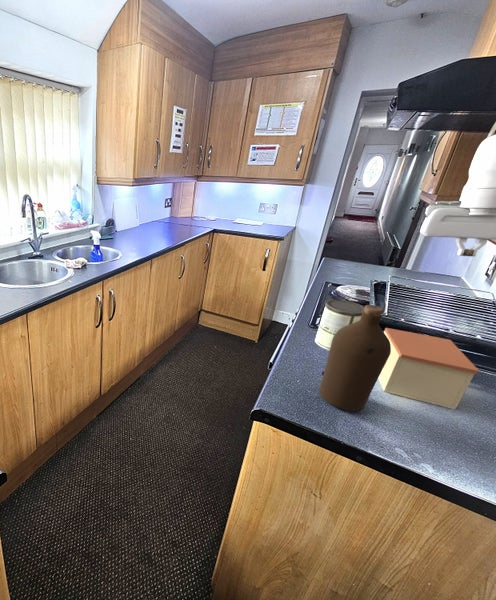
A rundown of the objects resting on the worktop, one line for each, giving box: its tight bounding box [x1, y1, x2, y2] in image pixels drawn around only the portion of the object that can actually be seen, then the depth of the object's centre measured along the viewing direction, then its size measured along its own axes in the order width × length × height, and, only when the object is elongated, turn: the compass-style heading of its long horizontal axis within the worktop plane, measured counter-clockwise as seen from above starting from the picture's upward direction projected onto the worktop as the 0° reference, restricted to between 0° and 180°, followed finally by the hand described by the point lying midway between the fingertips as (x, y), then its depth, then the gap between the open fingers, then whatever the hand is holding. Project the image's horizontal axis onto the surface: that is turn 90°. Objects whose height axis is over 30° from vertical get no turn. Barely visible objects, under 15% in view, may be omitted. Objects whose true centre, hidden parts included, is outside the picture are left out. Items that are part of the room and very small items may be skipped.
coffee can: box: [314, 298, 365, 351], centre depth 103 cm, size 10×10×14 cm
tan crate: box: [377, 330, 476, 410], centre depth 86 cm, size 16×14×11 cm
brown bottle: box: [318, 304, 391, 412], centre depth 76 cm, size 11×11×25 cm
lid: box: [384, 327, 480, 375], centre depth 83 cm, size 16×14×1 cm
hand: (465, 255), depth 86 cm, fingers closed
